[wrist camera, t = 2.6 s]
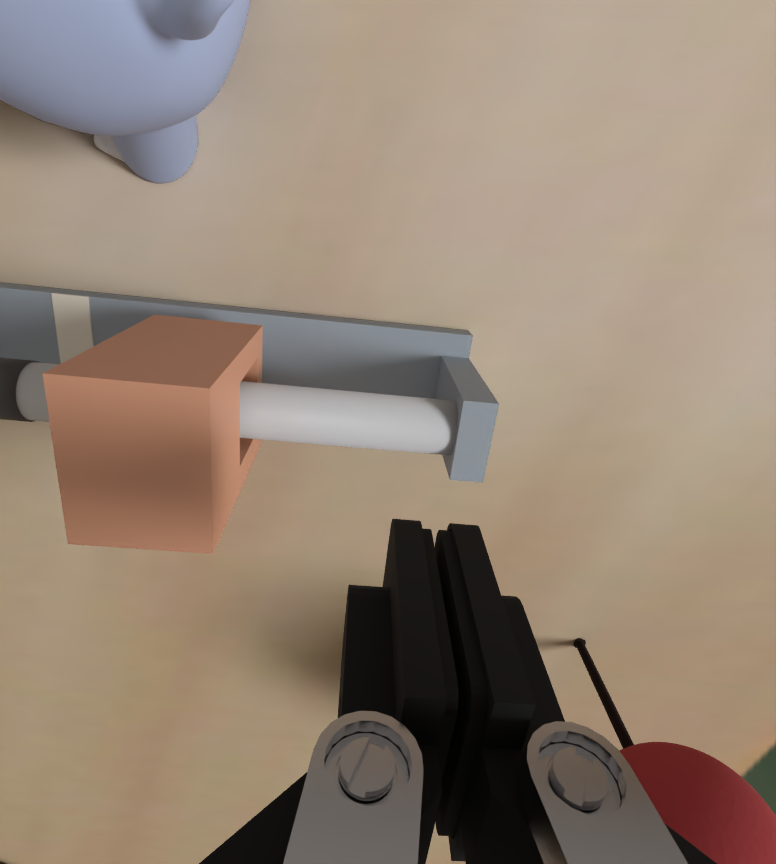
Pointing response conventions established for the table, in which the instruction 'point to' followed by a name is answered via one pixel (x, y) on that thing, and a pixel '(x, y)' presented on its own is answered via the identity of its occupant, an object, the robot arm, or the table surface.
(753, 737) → the table surface
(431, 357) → the rail
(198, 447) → the collar
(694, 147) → the table surface
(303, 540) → the table surface
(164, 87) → the hippopotamus toy
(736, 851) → the lollipop
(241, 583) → the table surface
